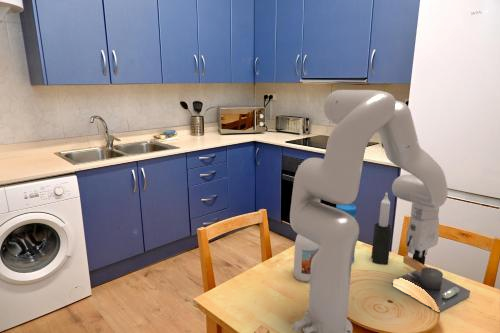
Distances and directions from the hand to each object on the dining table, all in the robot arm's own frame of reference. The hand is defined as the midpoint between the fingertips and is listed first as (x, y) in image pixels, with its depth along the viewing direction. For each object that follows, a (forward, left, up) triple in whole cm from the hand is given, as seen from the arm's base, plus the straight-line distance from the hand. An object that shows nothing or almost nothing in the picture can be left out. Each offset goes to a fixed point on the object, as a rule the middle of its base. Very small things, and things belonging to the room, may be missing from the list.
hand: (417, 266), depth 111 cm
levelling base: (-4, -7, -4) cm, 9 cm away
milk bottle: (-31, +18, -4) cm, 36 cm away
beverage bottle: (-13, +20, -4) cm, 24 cm away
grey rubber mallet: (-4, -4, -1) cm, 5 cm away
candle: (-2, +13, -4) cm, 14 cm away
